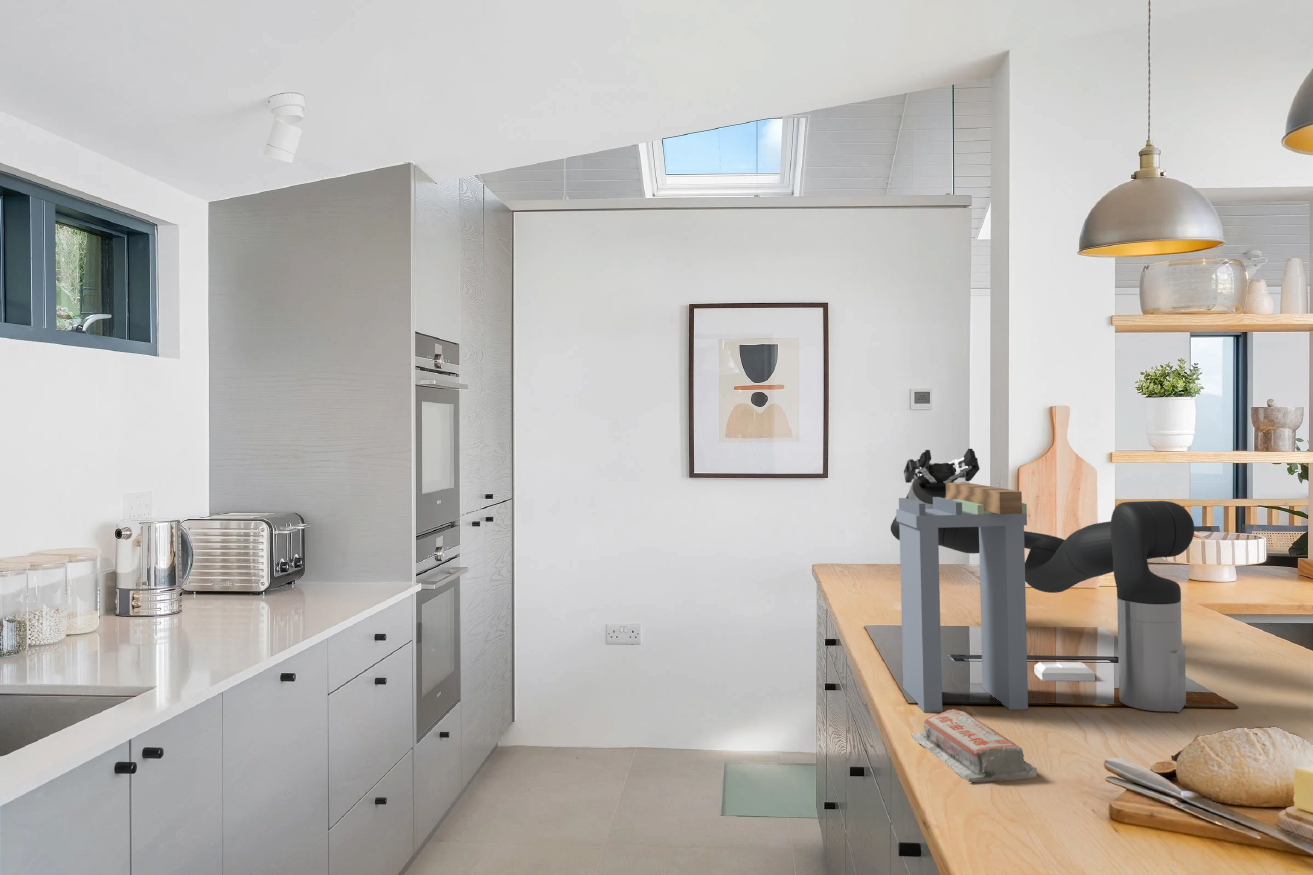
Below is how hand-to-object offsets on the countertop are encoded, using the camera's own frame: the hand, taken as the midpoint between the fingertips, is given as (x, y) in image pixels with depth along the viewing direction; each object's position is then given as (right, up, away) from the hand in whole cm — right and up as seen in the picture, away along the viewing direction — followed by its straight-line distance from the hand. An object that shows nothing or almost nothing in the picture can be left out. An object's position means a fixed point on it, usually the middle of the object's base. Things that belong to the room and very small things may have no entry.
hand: (950, 453), depth 179 cm
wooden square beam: (-2, -9, -24) cm, 25 cm away
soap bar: (+16, -41, -15) cm, 47 cm away
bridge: (-7, -41, -27) cm, 50 cm away
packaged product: (-14, -42, -53) cm, 69 cm away
